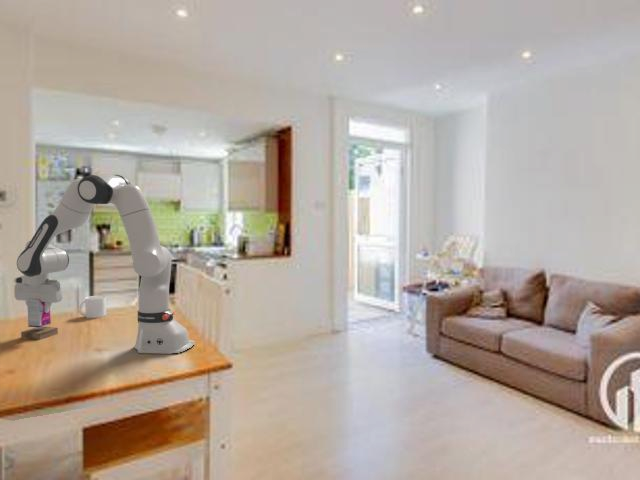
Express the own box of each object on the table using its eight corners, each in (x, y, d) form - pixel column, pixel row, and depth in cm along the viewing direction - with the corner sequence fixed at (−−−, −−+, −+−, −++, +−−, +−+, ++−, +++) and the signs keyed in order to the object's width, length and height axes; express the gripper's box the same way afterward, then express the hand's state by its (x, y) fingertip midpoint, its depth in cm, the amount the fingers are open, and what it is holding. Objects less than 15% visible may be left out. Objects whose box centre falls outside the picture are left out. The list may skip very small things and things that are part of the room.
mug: (104, 313, 219) (103, 295, 219) (107, 316, 212) (107, 298, 211) (77, 316, 212) (76, 297, 211) (80, 320, 205) (79, 300, 204)
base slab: (57, 333, 183) (57, 327, 183) (39, 339, 174) (39, 333, 174) (39, 331, 185) (39, 326, 185) (21, 337, 176) (21, 331, 176)
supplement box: (40, 327, 176) (38, 299, 175) (27, 326, 177) (25, 299, 176) (51, 323, 181) (49, 296, 180) (39, 323, 183) (37, 296, 182)
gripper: (65, 278, 179) (66, 311, 180) (24, 276, 183) (25, 308, 184) (53, 281, 172) (54, 315, 173) (10, 278, 177) (11, 311, 178)
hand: (38, 311), depth 179 cm, fingers closed on supplement box, 6 cm apart
